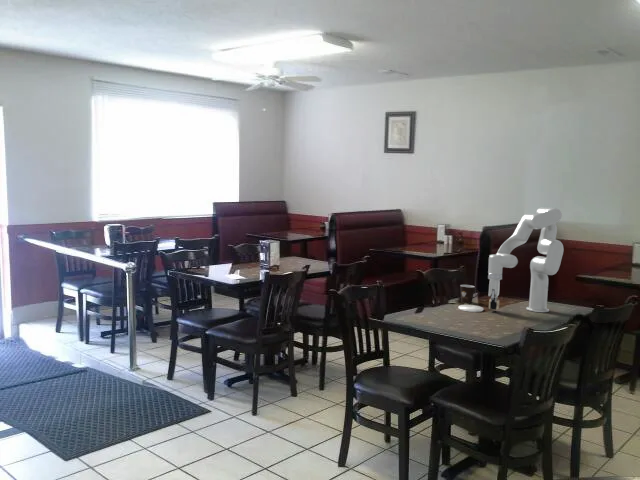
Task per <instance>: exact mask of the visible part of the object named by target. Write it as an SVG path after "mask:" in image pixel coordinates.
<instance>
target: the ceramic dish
mask: <svg viewBox="0 0 640 480" xmlns="http://www.w3.org/2000/svg"><path fill="white" fill-rule="evenodd" d="M457 309H458V310H459V311H463V312H466V313H468V312H469V313H481V312H483V311H484V307H483V306H479V305H473V304H460V305H458V308H457Z"/></svg>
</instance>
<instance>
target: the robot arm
mask: <svg viewBox="0 0 640 480" xmlns="http://www.w3.org/2000/svg"><path fill="white" fill-rule="evenodd" d="M562 217H563V213H562V211H561V210H560V209H559V208H556V207H548V206H547V207H546V206H542V207H538V208H537V209H536V211H535V213H525V214H523V215H522V217H521V218H520V220H519V221H518V224H517V226H516V228H515V229H514V231H513V233H512V234H511V236H510V237H509V238H507V239H506V240H505V241H504V242H503V243H502V244H501V245H500V247H499V249H498V250H497V252H496V253H495V254H489V255H488V256H489V257H488V271H487V273H488V275H487V279H488V280H489V284H488V297H490V299H491V303H490V309H489V310H494V309H496V299H498V298H499V297H498V296H499V295H500V284H501V283H500V281H501V280H503V268H507V269H508V268H509V269H512V268H515V267H516V266H517V265H518V263H519V260H518V258H517V256H515V255H513V254H511V253H512V251H513V250H514V249H515V248H517V247H519V246H521V245H524V244H525V243H527V241H528V240H529V238H530V237H531V236H530V235H531V234H532V232H533V230H540V234H539V238H538V242H537V247H536V249H537V251H538V253H539V254H542V255H544V256H540V255H537V256H535V257H532V259H531V260H530V262H529V263H530V264H529V269H530V288H529V301H528V302H529V303H528V306H526V308H525V310H527V311H530V312H535V313H548V312H550V309H549V308H547V305H548V291H549V276H553V275H556V274H557V272H558V271H559V269H560V266H561V262H562V259H563V255H564V245H563V243H562V242H561V240H558V239H557V233H558V227H557V223H559V222H560V221H561V219H562Z"/></svg>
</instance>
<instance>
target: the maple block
mask: <svg viewBox="0 0 640 480" xmlns="http://www.w3.org/2000/svg"><path fill="white" fill-rule="evenodd" d="M490 303H491V298H489V301H488V310H491V309H490ZM499 309H500V299H496V309H493V310H494V311H495V310H497V311H498V310H499Z"/></svg>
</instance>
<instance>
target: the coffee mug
mask: <svg viewBox="0 0 640 480" xmlns="http://www.w3.org/2000/svg"><path fill="white" fill-rule="evenodd" d="M459 287H460V302H461V303H463V302H464V304H472V303H473V300H474V299H475V298H476V297H478V296H479V295H480V291H479V290H478V289H475V288H476V287H475V286H474V285H470V284H460V285H459ZM475 291H476V293H477V294H476V295H475V296H474V293H475Z"/></svg>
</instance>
